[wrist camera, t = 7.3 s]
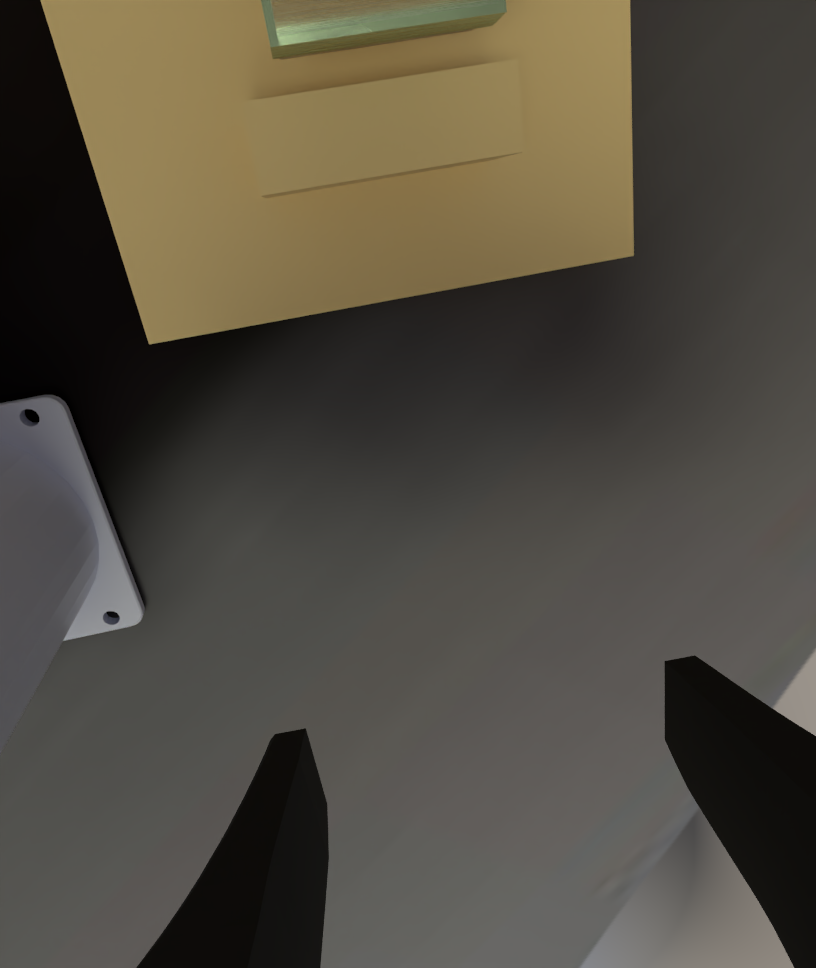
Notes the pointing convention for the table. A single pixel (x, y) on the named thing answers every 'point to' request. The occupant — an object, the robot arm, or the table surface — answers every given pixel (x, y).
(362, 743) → the table surface
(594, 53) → the stand
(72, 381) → the table surface
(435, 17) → the silver reflective cuboid
